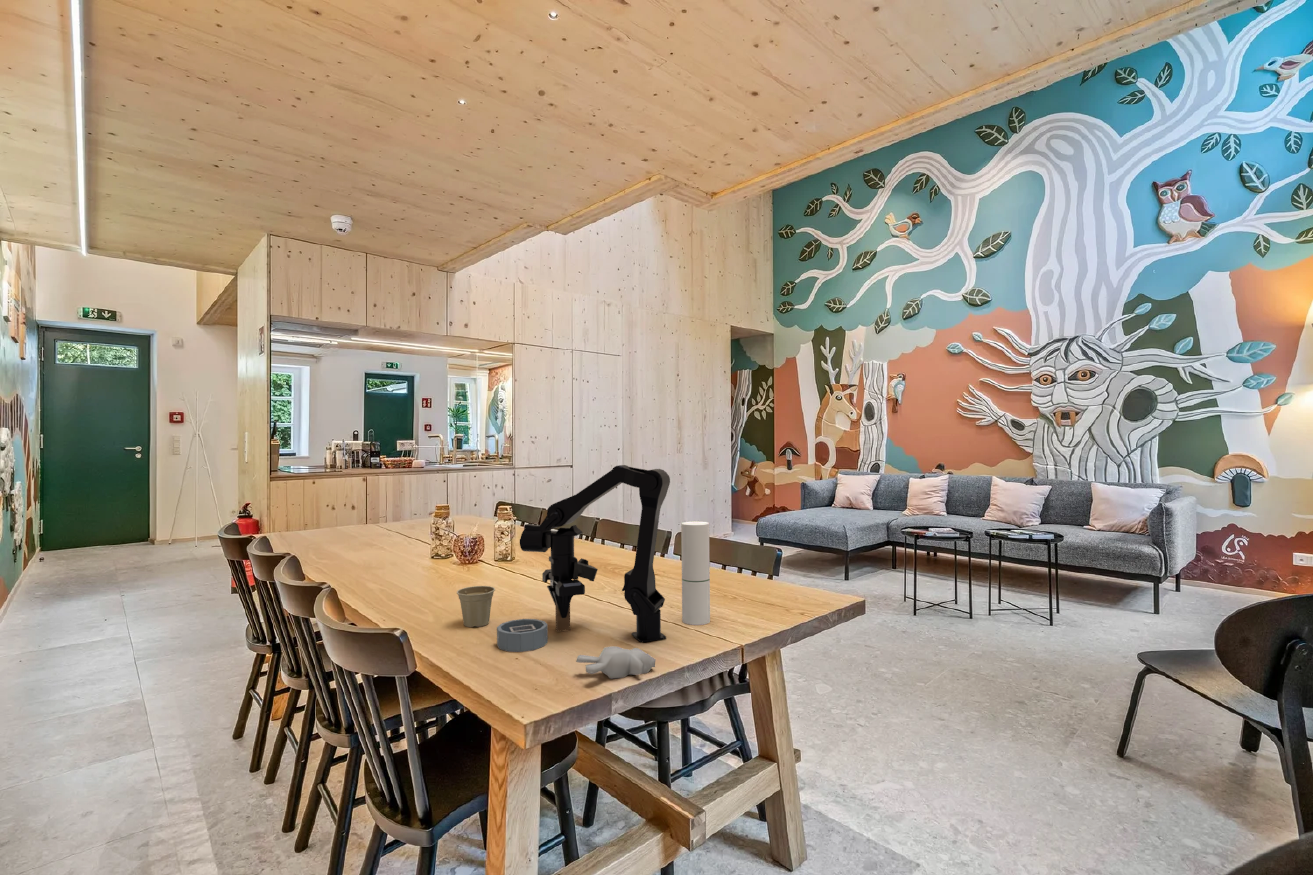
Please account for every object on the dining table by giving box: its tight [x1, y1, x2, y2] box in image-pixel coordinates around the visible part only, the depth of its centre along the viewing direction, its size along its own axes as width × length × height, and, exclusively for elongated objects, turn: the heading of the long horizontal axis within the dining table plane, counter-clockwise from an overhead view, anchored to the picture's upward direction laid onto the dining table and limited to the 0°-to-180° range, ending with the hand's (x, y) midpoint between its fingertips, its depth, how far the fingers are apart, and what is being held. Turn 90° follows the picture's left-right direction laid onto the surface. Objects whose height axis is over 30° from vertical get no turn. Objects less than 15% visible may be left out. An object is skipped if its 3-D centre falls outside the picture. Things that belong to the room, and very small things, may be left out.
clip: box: [509, 624, 536, 633], centre depth 140 cm, size 4×5×2 cm
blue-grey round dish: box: [496, 618, 549, 653], centre depth 140 cm, size 11×11×4 cm
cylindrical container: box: [680, 520, 711, 626], centre depth 156 cm, size 7×7×25 cm
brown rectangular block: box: [554, 601, 571, 633], centre depth 149 cm, size 2×3×9 cm, turn 113°
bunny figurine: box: [575, 645, 656, 680], centre depth 121 cm, size 10×5×15 cm
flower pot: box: [456, 585, 496, 628], centre depth 155 cm, size 9×9×9 cm
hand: (562, 616), depth 149 cm, fingers closed on brown rectangular block, 2 cm apart
